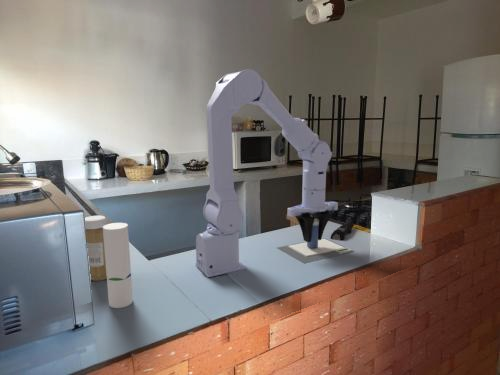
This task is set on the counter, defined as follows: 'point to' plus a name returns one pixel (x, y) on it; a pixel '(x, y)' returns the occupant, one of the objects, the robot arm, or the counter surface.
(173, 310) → the counter surface
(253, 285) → the counter surface
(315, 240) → the marker
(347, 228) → the electric trimmer
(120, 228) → the tube
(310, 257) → the desk mat
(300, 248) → the paper
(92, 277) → the sprinkles bottle
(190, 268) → the counter surface
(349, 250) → the word tile
